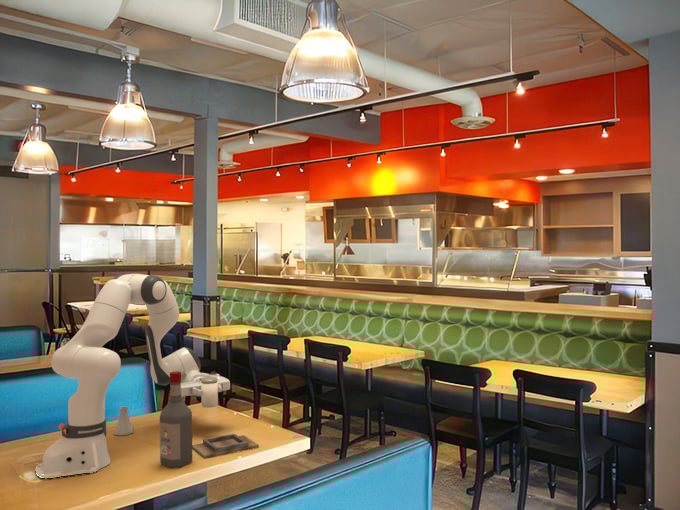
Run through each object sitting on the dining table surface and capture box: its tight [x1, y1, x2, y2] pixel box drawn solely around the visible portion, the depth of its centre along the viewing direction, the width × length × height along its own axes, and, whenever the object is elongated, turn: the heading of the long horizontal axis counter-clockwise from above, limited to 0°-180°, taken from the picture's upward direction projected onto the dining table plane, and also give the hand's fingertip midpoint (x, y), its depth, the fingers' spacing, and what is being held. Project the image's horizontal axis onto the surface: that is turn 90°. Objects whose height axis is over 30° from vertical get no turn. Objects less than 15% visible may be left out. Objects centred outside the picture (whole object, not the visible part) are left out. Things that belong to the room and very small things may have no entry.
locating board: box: [192, 433, 259, 460], centre depth 214 cm, size 20×13×2 cm, turn 123°
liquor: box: [159, 371, 193, 469], centre depth 199 cm, size 9×9×30 cm
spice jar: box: [200, 377, 219, 409], centre depth 226 cm, size 6×6×10 cm
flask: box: [113, 406, 135, 437], centre depth 231 cm, size 7×7×10 cm
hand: (210, 391), depth 225 cm, fingers closed on spice jar, 6 cm apart
